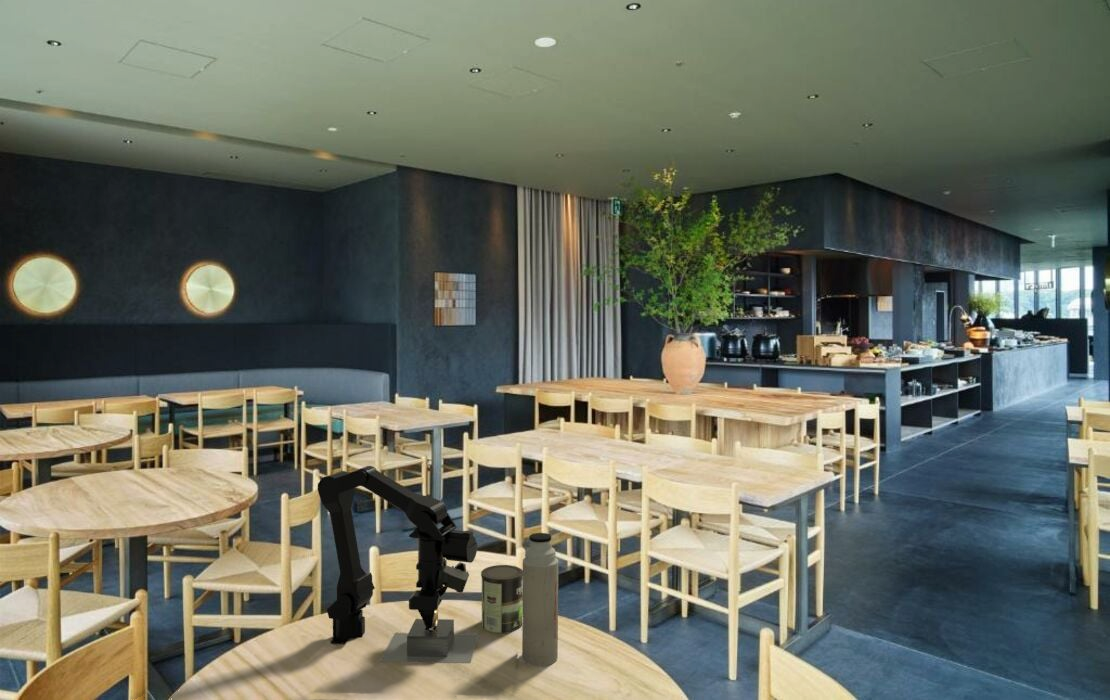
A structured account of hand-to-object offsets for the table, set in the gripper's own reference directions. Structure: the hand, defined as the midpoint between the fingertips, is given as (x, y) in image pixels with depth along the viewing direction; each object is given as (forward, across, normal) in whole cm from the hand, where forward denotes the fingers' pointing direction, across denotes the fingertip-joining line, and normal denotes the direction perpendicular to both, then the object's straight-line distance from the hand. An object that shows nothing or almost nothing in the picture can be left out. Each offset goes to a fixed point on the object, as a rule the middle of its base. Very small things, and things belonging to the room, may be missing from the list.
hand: (430, 624), depth 163 cm
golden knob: (+5, 0, 0) cm, 5 cm away
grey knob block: (+5, 0, 0) cm, 5 cm away
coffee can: (+6, +13, -15) cm, 21 cm away
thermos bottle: (+6, -2, -25) cm, 26 cm away
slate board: (+6, 0, 0) cm, 6 cm away
